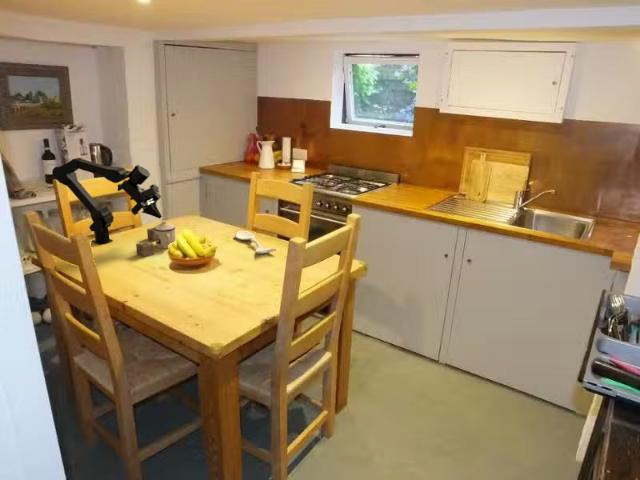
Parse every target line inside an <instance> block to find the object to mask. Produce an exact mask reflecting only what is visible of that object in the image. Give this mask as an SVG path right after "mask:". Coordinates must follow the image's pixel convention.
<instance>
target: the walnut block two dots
mask: <svg viewBox="0 0 640 480" xmlns="http://www.w3.org/2000/svg"><path fill="white" fill-rule="evenodd" d="M135 248H136V255H137V256H138V257H141V258H144V259H145V258H149V257H151V256H154V255H155V245H154V243H152V242H149V241H147V240H146V241H142V242H139V243H136V244H135Z"/></svg>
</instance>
